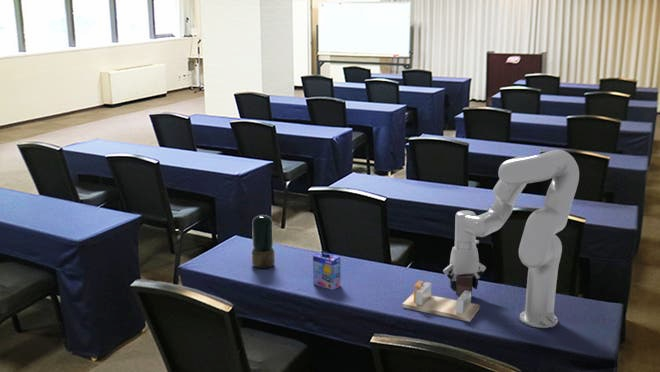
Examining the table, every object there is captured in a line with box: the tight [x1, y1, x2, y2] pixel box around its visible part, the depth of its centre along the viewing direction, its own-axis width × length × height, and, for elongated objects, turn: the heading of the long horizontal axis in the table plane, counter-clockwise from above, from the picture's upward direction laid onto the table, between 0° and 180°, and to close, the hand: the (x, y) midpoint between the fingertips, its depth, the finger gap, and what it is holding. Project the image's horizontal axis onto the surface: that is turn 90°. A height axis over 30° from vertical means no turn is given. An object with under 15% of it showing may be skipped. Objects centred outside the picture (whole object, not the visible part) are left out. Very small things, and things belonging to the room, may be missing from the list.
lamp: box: [251, 214, 276, 269], centre depth 281 cm, size 10×10×22 cm
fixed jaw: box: [456, 290, 472, 315], centre depth 239 cm, size 2×10×5 cm, turn 153°
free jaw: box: [413, 280, 432, 306], centre depth 246 cm, size 4×10×6 cm, turn 153°
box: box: [455, 274, 474, 297], centre depth 252 cm, size 6×6×7 cm
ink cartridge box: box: [312, 250, 342, 291], centre depth 262 cm, size 10×6×14 cm, turn 56°
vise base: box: [401, 292, 480, 322], centre depth 243 cm, size 25×12×2 cm, turn 63°
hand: (464, 288), depth 253 cm, fingers closed on box, 7 cm apart
